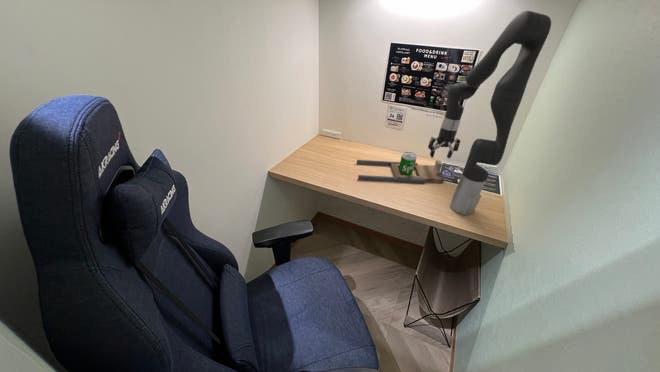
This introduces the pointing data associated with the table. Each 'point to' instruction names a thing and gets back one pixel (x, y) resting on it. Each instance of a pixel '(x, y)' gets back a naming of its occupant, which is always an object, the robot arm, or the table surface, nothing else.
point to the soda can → (407, 163)
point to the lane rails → (384, 178)
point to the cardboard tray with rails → (422, 172)
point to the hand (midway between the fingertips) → (439, 157)
